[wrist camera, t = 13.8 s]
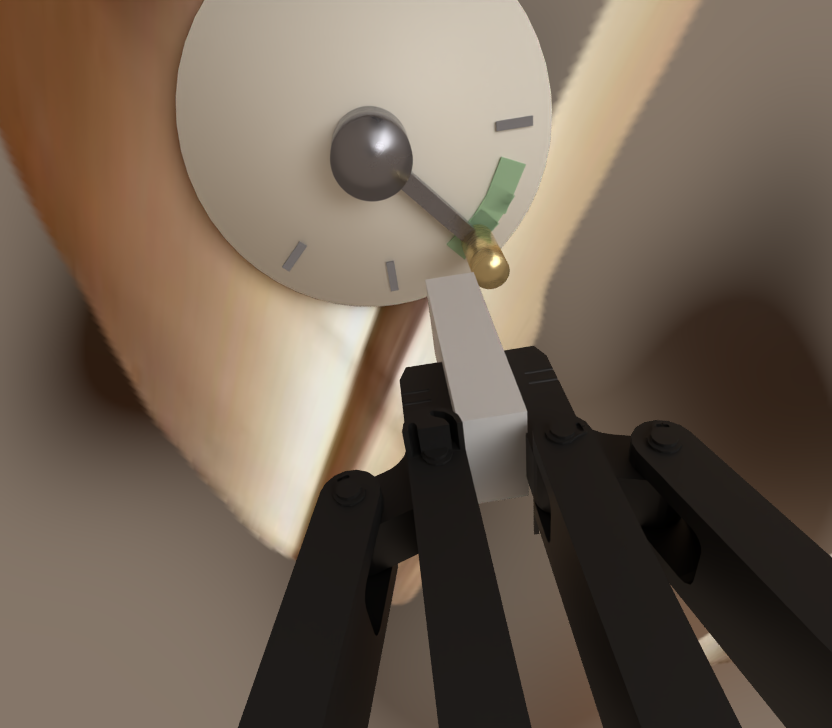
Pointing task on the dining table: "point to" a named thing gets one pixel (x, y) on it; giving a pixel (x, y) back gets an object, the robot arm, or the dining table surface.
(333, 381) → the dining table surface
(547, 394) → the robot arm
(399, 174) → the crank handle
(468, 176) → the dial board
